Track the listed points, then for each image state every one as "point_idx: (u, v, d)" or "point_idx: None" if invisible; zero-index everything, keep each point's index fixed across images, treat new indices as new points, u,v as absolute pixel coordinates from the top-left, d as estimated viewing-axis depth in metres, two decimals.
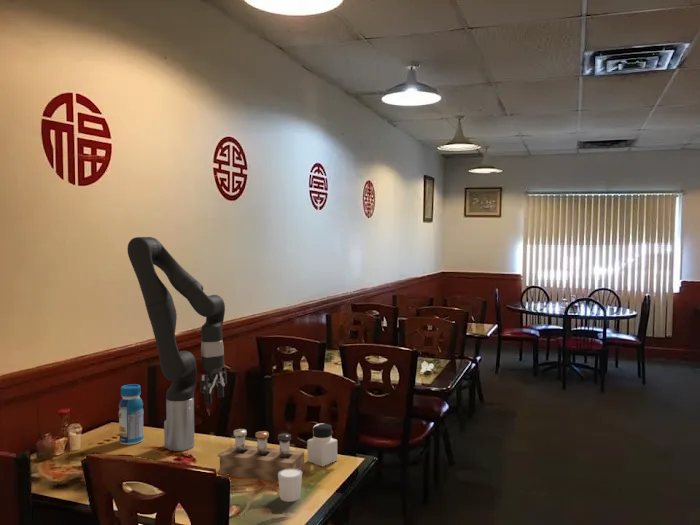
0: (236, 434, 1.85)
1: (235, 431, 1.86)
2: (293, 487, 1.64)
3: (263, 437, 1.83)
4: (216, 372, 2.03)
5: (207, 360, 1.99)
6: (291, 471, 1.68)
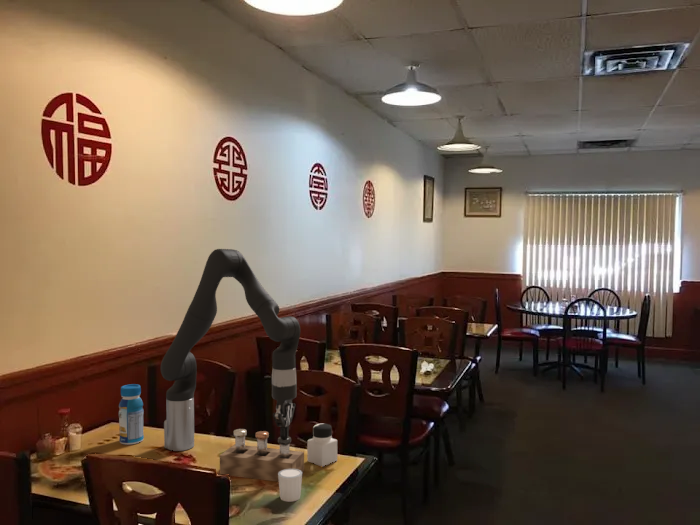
0: (236, 434, 1.85)
1: (235, 431, 1.86)
2: (293, 487, 1.64)
3: (263, 437, 1.83)
4: (287, 403, 1.82)
5: (279, 389, 1.78)
6: (291, 471, 1.68)
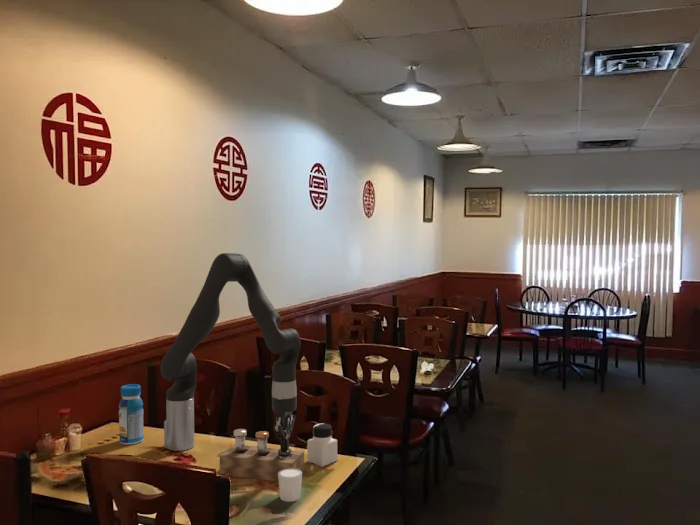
0: (236, 434, 1.85)
1: (235, 431, 1.86)
2: (293, 487, 1.64)
3: (263, 437, 1.83)
4: (287, 415, 1.82)
5: (279, 402, 1.78)
6: (291, 471, 1.68)
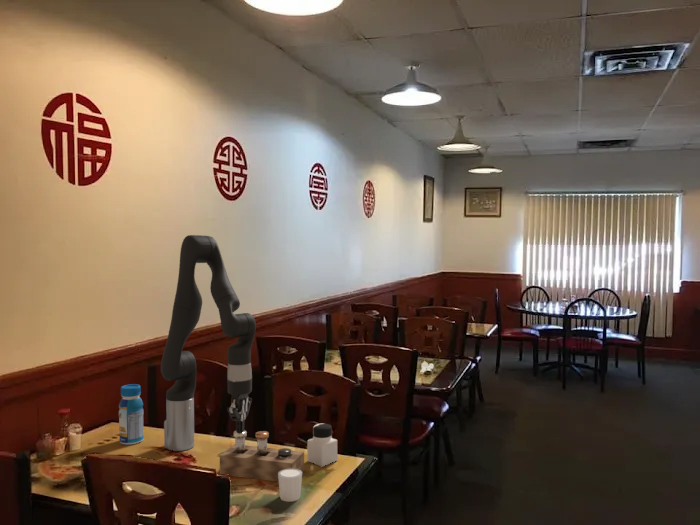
0: (236, 435, 1.85)
1: (235, 432, 1.86)
2: (293, 487, 1.64)
3: (263, 437, 1.83)
4: (243, 397, 1.86)
5: (234, 384, 1.82)
6: (291, 471, 1.68)
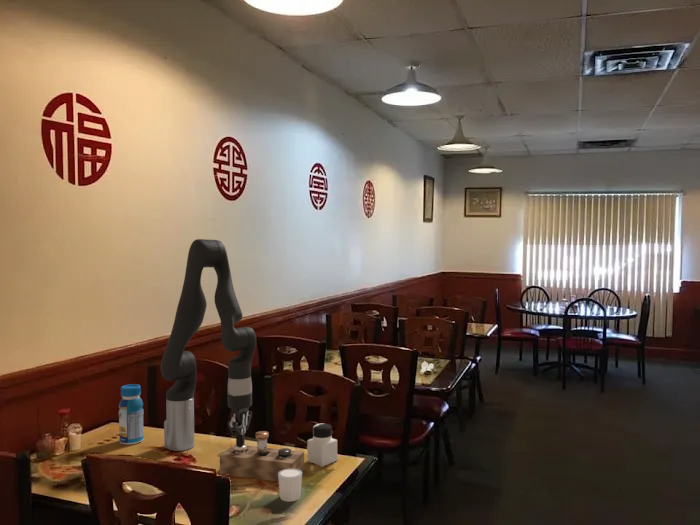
0: (236, 449, 1.85)
1: (235, 446, 1.86)
2: (293, 487, 1.64)
3: (263, 437, 1.83)
4: (243, 411, 1.86)
5: (234, 398, 1.83)
6: (291, 471, 1.68)
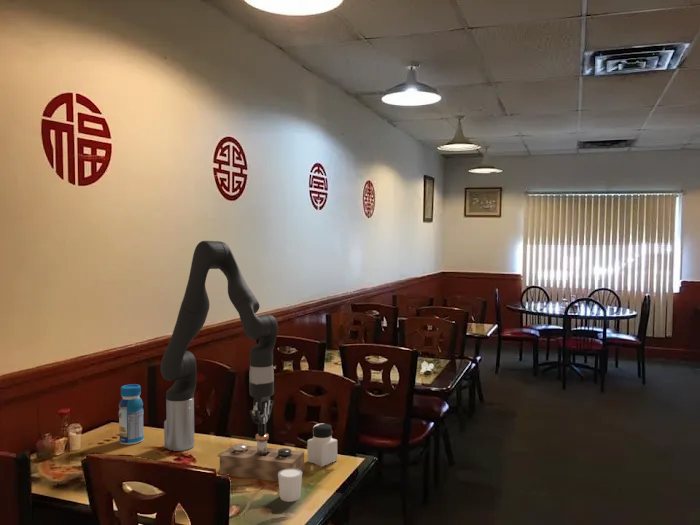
0: (236, 449, 1.85)
1: (235, 446, 1.86)
2: (293, 487, 1.64)
3: (263, 439, 1.83)
4: (265, 400, 1.84)
5: (256, 387, 1.80)
6: (291, 471, 1.68)
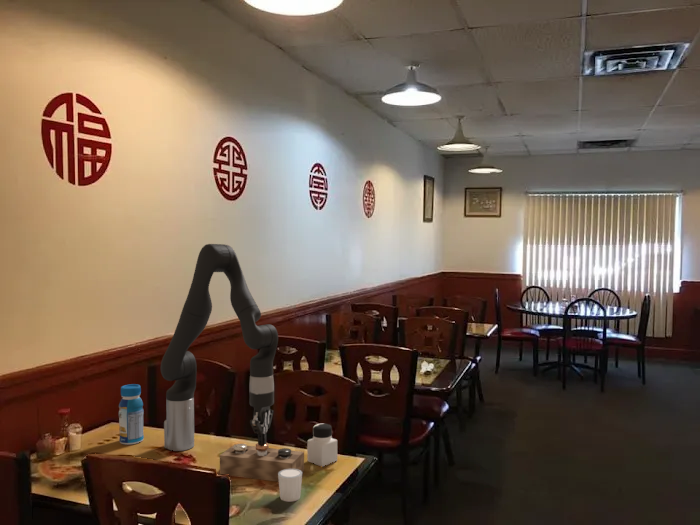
0: (236, 449, 1.85)
1: (235, 446, 1.86)
2: (293, 487, 1.64)
3: (263, 449, 1.83)
4: (265, 410, 1.84)
5: (256, 397, 1.80)
6: (291, 471, 1.68)
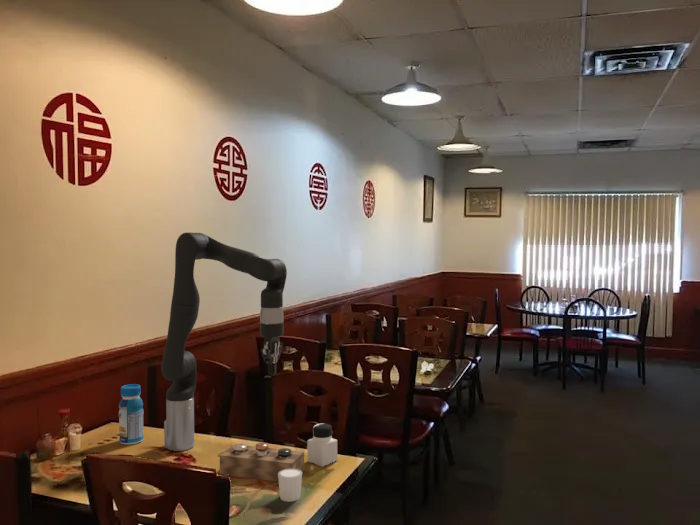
0: (236, 449, 1.85)
1: (235, 446, 1.86)
2: (293, 487, 1.64)
3: (263, 449, 1.83)
4: (275, 341, 1.91)
5: (267, 327, 1.87)
6: (291, 471, 1.68)
